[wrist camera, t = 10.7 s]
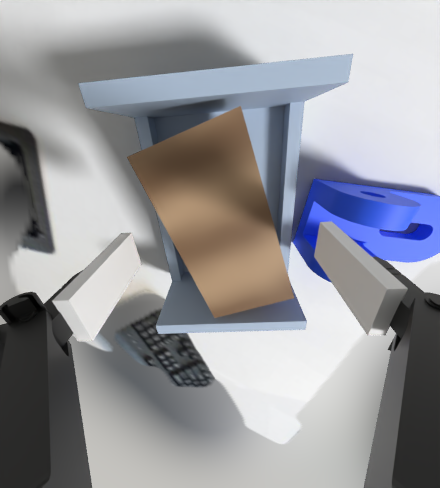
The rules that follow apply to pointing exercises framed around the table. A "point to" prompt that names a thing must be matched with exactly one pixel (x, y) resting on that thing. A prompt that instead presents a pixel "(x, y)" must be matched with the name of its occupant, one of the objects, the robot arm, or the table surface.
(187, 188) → the brown wooden block
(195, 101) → the frame
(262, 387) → the table surface
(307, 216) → the bracket
